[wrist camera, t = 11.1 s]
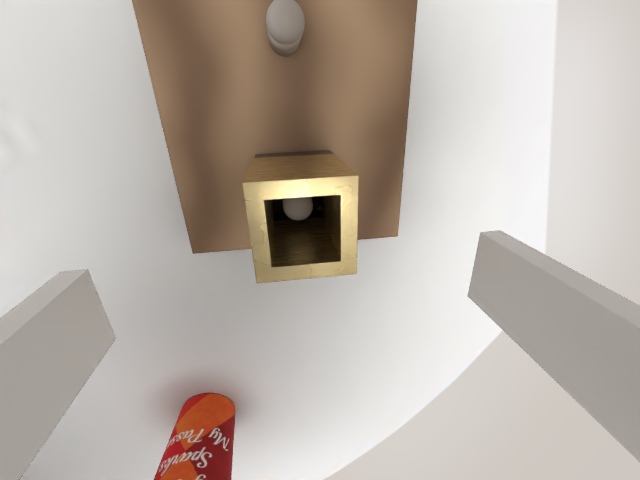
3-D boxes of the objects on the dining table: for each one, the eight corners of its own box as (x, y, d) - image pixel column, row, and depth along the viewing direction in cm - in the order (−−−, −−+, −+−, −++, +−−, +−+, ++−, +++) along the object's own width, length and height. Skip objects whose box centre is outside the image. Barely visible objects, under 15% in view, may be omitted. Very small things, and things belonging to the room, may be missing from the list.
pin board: (199, 242, 24) (171, 290, 18) (134, -48, 17) (47, -138, 10) (389, 227, 26) (424, 266, 20) (408, -45, 18) (475, -122, 12)
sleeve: (264, 224, 22) (256, 283, 15) (255, 154, 20) (242, 182, 12) (331, 218, 22) (356, 273, 15) (330, 150, 20) (358, 175, 13)
